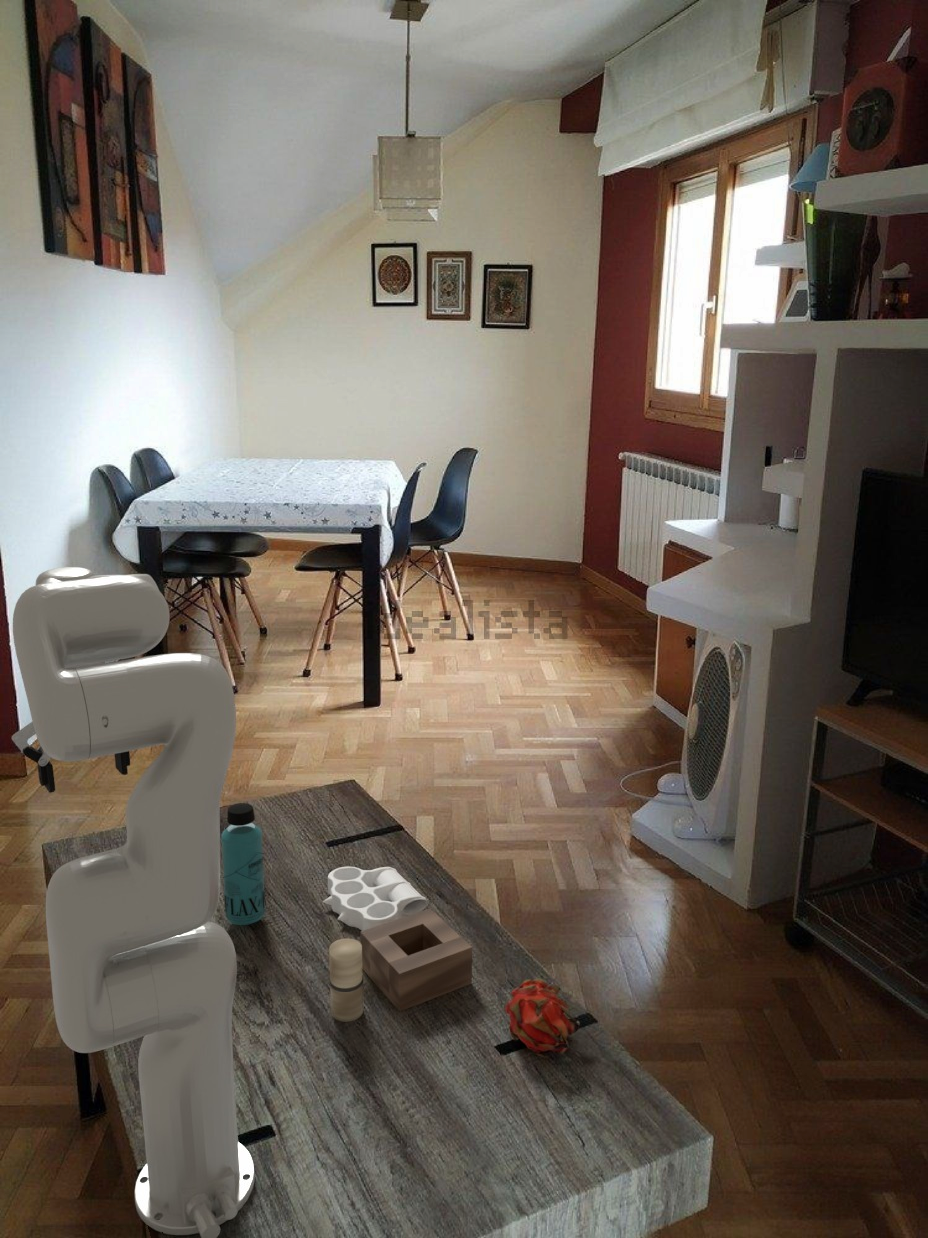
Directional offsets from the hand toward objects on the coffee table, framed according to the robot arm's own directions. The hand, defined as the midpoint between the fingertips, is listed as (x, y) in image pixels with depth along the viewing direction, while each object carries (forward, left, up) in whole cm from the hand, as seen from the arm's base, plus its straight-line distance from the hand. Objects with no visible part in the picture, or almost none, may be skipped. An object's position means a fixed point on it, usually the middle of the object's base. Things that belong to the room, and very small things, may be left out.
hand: (86, 780), depth 136 cm
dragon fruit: (-45, -45, -31) cm, 71 cm away
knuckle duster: (-4, -41, -31) cm, 52 cm away
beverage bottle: (+2, -22, -31) cm, 38 cm away
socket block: (-24, -38, -31) cm, 54 cm away
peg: (-26, -26, -31) cm, 48 cm away
